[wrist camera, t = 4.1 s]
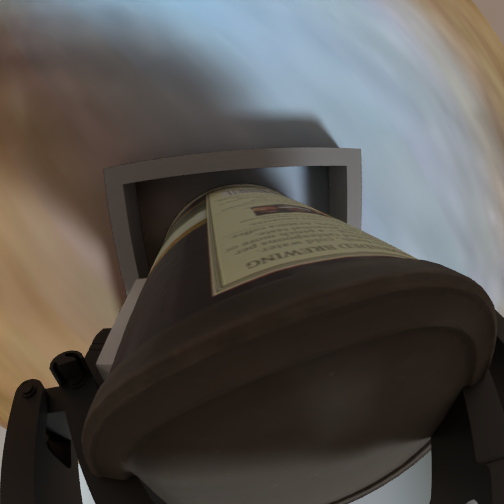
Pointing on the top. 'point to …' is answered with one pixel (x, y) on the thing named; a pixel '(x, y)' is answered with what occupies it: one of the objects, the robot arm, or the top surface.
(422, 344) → the coffee can
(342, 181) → the collar
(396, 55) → the top surface
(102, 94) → the top surface
